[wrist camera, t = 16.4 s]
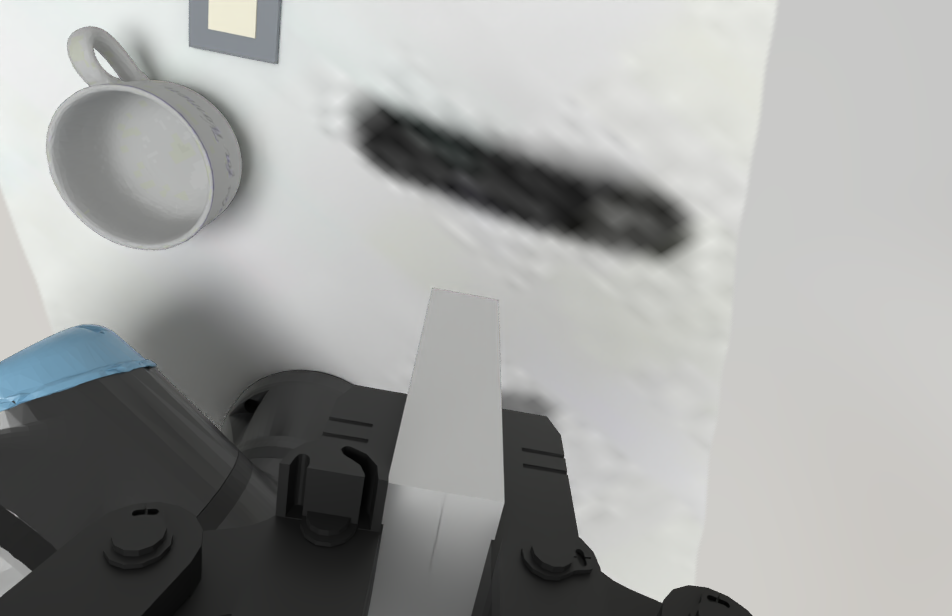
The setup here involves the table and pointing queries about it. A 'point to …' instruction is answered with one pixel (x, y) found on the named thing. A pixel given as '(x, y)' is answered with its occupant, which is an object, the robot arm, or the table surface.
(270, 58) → the label plate
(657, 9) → the table surface
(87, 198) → the teacup
